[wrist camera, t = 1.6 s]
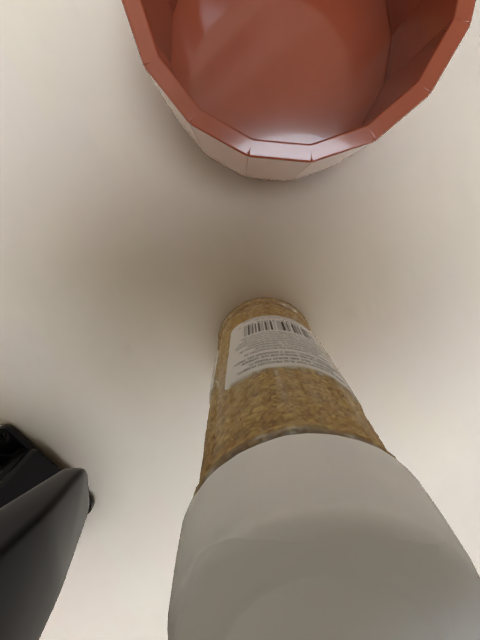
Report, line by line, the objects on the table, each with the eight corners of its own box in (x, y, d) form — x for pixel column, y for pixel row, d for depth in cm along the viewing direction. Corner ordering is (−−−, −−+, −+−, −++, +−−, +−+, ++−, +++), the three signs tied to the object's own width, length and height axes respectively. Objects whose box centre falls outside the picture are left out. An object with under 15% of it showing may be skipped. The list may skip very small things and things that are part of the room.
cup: (262, 226, 16) (272, 228, 11) (112, 39, 15) (39, -65, 9) (442, 72, 15) (554, -11, 10) (300, -160, 13) (341, -420, 8)
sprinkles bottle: (204, 365, 18) (115, 725, 5) (239, 280, 17) (236, 468, 4) (289, 397, 19) (401, 802, 6) (328, 316, 18) (578, 588, 5)
